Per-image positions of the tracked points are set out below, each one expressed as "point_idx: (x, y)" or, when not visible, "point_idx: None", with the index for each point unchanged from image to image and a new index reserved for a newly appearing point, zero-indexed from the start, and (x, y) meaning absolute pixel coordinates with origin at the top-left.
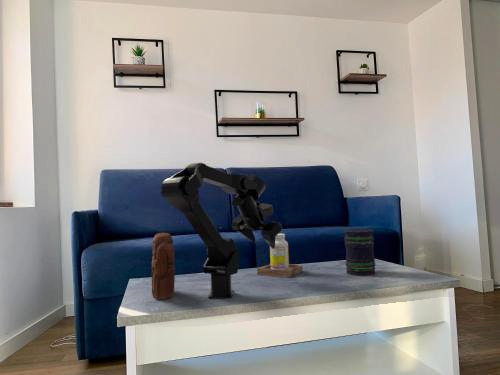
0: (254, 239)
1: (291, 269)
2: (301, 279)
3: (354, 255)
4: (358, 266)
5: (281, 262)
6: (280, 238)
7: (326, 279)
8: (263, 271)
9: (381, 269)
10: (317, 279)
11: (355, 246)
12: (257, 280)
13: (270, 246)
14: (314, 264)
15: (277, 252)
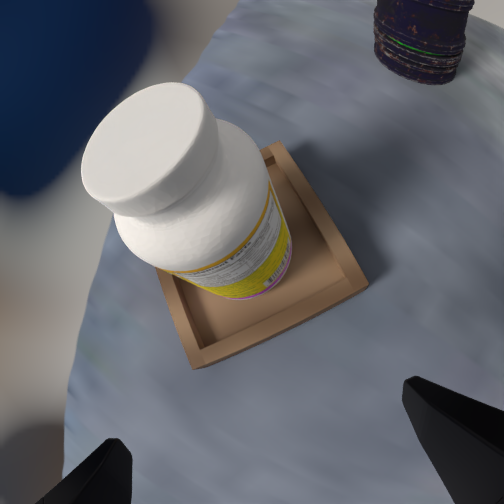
0: (113, 460)
1: (341, 235)
2: (426, 252)
3: (454, 33)
4: (457, 60)
5: (282, 256)
6: (213, 162)
7: (465, 175)
8: (233, 354)
9: None
10: (454, 199)
11: (465, 8)
12: (314, 436)
13: (426, 442)
14: (210, 78)
15: (255, 258)
